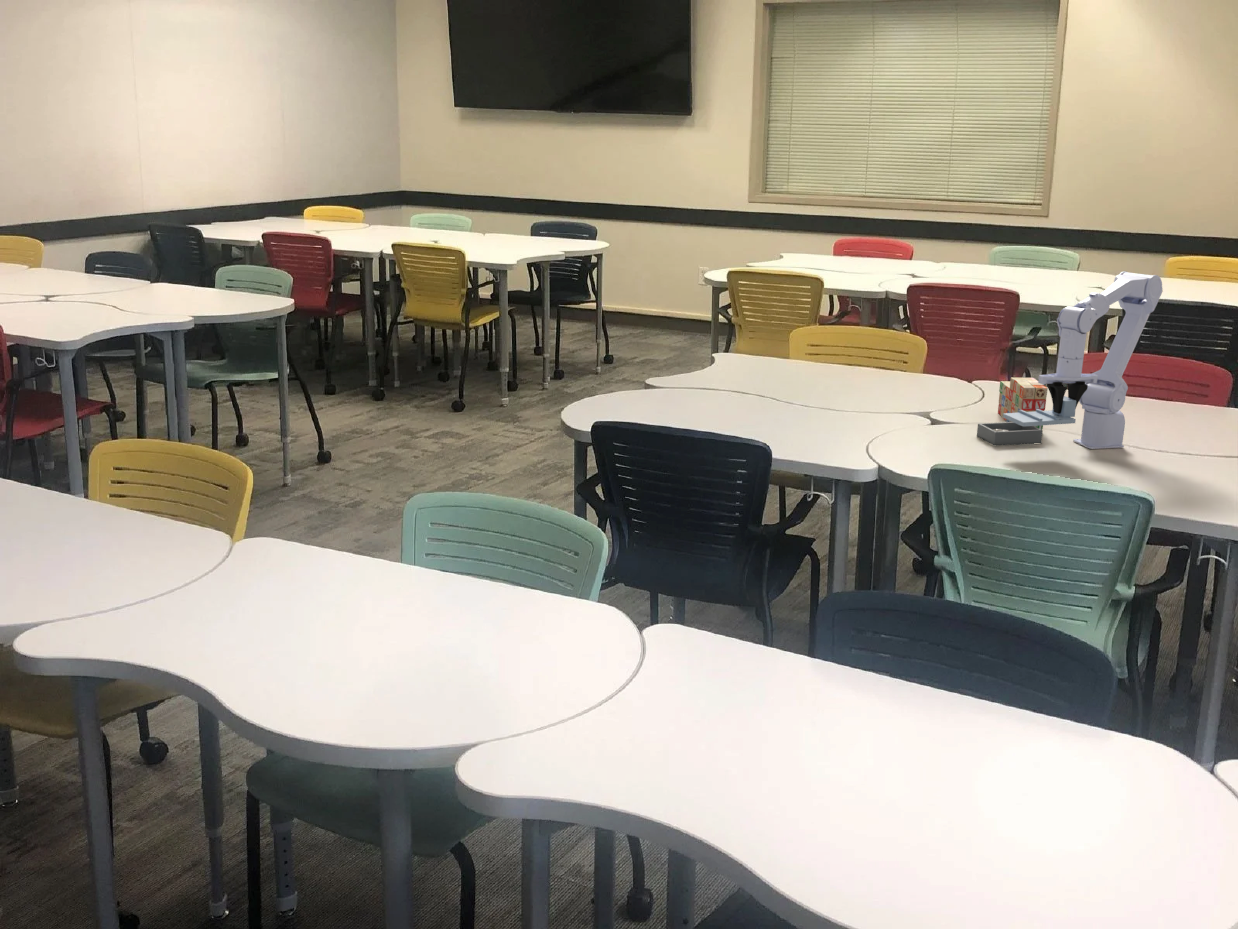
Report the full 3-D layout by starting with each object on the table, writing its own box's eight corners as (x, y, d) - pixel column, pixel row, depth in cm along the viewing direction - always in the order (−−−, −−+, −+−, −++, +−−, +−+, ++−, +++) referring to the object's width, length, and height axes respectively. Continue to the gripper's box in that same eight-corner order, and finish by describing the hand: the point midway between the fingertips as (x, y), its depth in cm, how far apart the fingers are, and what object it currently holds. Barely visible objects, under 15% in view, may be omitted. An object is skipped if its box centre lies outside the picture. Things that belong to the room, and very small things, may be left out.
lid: (1058, 413, 296) (1059, 394, 294) (1079, 422, 286) (1081, 402, 285) (1002, 417, 293) (1004, 397, 291) (1023, 426, 284) (1024, 405, 282)
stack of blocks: (996, 413, 334) (1001, 370, 330) (1019, 413, 334) (1024, 370, 330) (1018, 432, 313) (1023, 386, 310) (1042, 433, 313) (1048, 387, 310)
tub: (1022, 434, 311) (1024, 421, 310) (1041, 443, 302) (1042, 430, 301) (976, 436, 308) (977, 423, 307) (993, 445, 300) (995, 432, 299)
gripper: (1088, 353, 292) (1081, 407, 295) (1034, 354, 289) (1028, 409, 293) (1105, 359, 285) (1098, 414, 289) (1050, 360, 282) (1043, 416, 286)
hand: (1063, 412), depth 290 cm, fingers closed on lid, 3 cm apart
